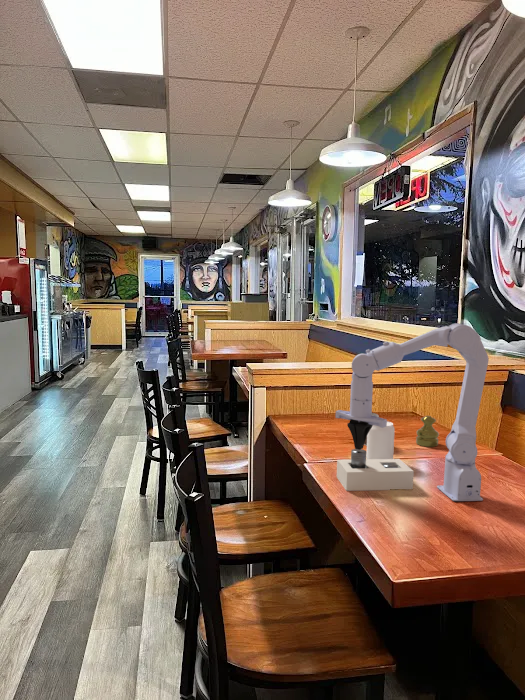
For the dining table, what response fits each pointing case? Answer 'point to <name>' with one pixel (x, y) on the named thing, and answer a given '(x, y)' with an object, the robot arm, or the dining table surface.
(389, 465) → the peg
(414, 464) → the dining table surface
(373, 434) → the beverage can
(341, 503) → the dining table surface
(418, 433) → the olive green tiered piece
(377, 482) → the bore block
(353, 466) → the peg
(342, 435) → the dining table surface
